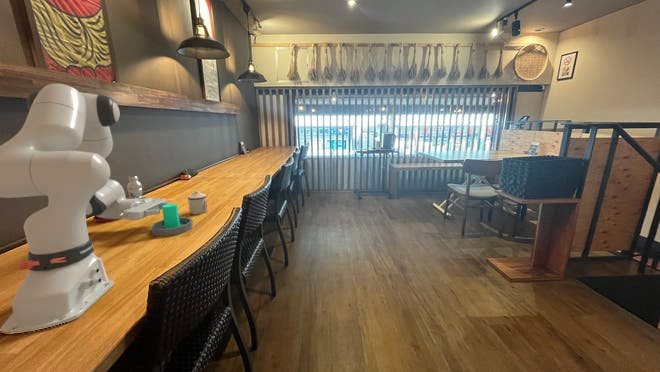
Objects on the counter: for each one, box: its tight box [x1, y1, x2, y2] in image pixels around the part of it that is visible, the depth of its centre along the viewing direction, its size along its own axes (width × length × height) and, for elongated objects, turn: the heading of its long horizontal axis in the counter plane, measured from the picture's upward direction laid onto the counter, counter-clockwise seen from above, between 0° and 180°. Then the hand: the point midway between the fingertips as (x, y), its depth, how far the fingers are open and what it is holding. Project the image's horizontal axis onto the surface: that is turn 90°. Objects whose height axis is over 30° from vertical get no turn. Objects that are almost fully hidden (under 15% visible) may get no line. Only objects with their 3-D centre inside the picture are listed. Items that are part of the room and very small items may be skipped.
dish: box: [150, 216, 194, 237], centre depth 117 cm, size 15×15×3 cm
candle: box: [161, 201, 180, 229], centre depth 116 cm, size 6×6×12 cm
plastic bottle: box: [126, 175, 144, 199], centre depth 137 cm, size 6×7×20 cm
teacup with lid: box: [187, 190, 208, 215], centre depth 141 cm, size 12×9×12 cm
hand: (165, 208), depth 115 cm, fingers open, 8 cm apart
